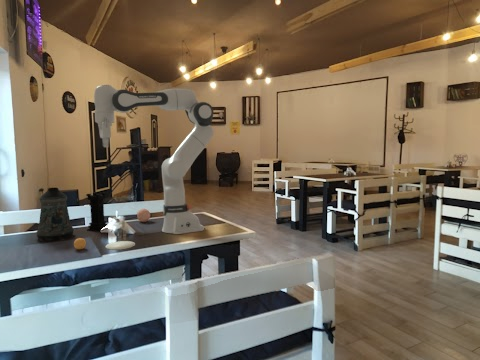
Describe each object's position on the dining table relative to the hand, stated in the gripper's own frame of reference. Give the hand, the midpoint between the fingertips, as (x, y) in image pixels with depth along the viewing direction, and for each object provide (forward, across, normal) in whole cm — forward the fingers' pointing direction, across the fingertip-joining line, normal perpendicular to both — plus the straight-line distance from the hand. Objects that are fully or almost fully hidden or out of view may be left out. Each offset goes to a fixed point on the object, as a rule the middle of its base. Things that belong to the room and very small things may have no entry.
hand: (105, 147), depth 172 cm
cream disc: (+45, -19, -4) cm, 49 cm away
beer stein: (+46, +13, +25) cm, 54 cm away
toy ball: (+45, +28, -22) cm, 57 cm away
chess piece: (+45, +20, +4) cm, 50 cm away
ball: (+43, -17, +13) cm, 48 cm away
